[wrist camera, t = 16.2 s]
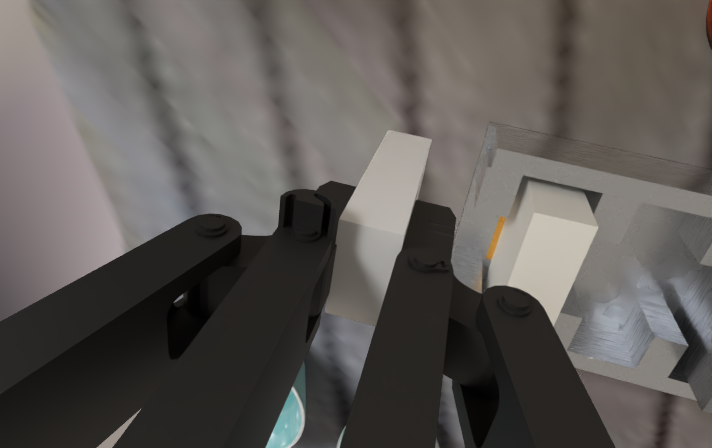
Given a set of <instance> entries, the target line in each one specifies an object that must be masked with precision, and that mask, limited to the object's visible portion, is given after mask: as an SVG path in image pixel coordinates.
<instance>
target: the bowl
mask: <svg viewBox="0 0 712 448" xmlns="http://www.w3.org/2000/svg"><path fill="white" fill-rule="evenodd" d="M305 410H306V387H305V364H304V362H303V364H302V366H301V368H300V371H299V373H298V375H297V377H296V380H295V382H294V384H293V387H292V389H291V391H290V393H289V396H288V398H287V400H286V402H285V405H284V407H283V409H282V411H281V414H280V416H279V418H278V421H277V423H276V425H275V427H274V430H273V432H272V434H271V436H270V439H269V441H268V443H267V445H266V448H291V447H292V446H293V445H294V444H295V443H296V442H297V441H298V440H299V438H300V437H301V435H302V433H303V430H304V426H305Z"/></svg>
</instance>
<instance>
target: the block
mask: <svg viewBox="0 0 712 448" xmlns="http://www.w3.org/2000/svg"><path fill="white" fill-rule="evenodd" d="M597 230H598V225H597V222H596V220H595V217H594V215H593V212H592V210H591V208H590V205H589V203H588V200H587V198H586V196H585V193H584V191H583V189H582V188H577V187H573V186H568V185H564V184H560V183H555V182H551V181H546V180H542V179H538V178H533V177H529V176H524V175H523V176H522V179H521V182H520V185H519V188H518V191H517V193H516V196H515V199H514V202H513V205H512V208H511V211H510V213H509V216H508V218H506V219H505V222H504V225H503V228H502V230H501V233H500V236H499V239H498V242H497V245H496V248H495V251H494V254H493V257H492V260H491V263H490V266H489V269H488V272H487V275H486V278H485V280H484V292H485V291H486V289H487V288H490V287H492V286H496V285H506V286H510V287H515V288H518V289H521V290H523V291H525V292H527V293H529V294H530V295H531V296H533V297H534V298H536V299H537V300H538V301H539V302H540V304H541V305H542V306H543V307H544V309H545V311H546V313H547V315H548V317H549V319H550V321H551V323H552V325H553V327H554V325H555V322H556V320H557V318H558V316H559V313H560V311H561V309H562V307H563V305H564V302H565V300H566V298H567V296H568V294H569V291H570V289H571V287H572V285H573V283H574V280H575V278H576V276H577V274H578V272H579V269H580V267H581V265H582V263H583V260H584V258H585V256H586V254H587V252H588V249H589V247H590V245H591V243H592V241H593V238H594V236H595V234H596V232H597Z"/></svg>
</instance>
